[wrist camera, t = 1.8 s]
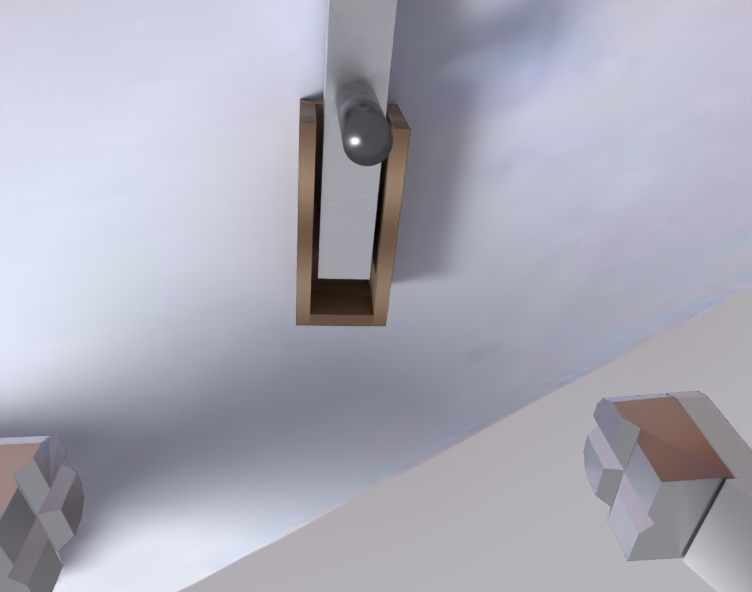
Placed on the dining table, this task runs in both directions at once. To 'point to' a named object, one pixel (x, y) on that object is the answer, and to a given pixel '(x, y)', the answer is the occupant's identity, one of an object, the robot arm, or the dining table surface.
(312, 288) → the open wooden box
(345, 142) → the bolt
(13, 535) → the robot arm
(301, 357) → the dining table surface
